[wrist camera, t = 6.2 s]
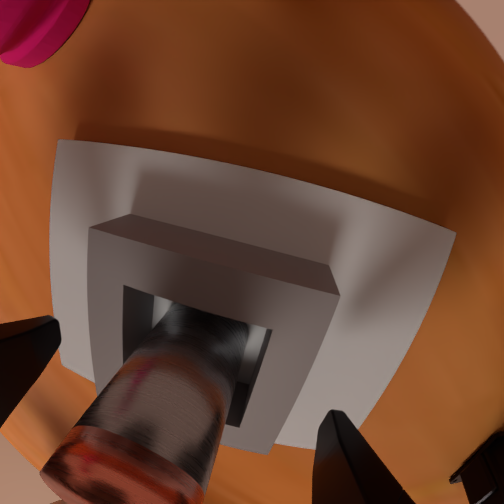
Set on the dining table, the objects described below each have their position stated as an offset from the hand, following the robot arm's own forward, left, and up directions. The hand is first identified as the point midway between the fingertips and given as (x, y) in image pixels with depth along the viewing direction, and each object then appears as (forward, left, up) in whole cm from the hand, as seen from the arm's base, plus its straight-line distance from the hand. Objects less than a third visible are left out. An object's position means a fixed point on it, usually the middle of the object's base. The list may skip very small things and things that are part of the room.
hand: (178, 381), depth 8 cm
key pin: (0, 0, -3) cm, 3 cm away
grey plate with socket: (0, 0, -4) cm, 4 cm away
